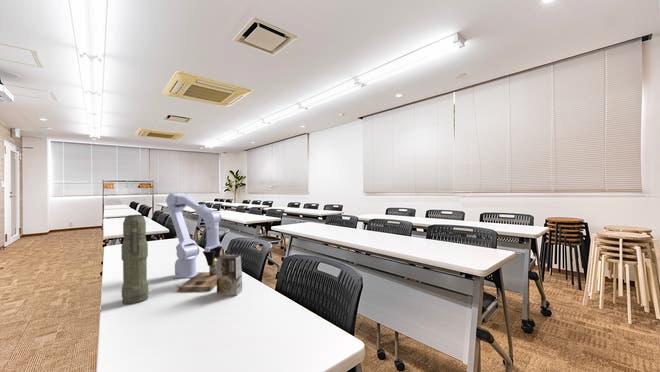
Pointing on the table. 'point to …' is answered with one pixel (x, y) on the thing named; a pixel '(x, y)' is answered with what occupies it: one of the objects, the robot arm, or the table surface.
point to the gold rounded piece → (213, 268)
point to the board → (199, 283)
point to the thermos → (134, 260)
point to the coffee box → (229, 274)
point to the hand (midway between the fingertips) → (213, 263)
